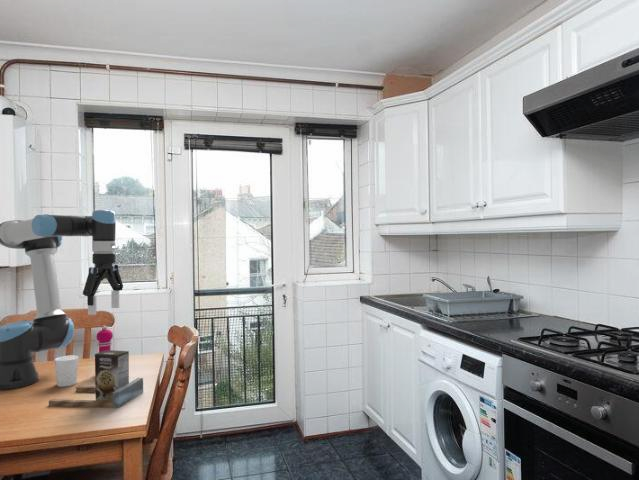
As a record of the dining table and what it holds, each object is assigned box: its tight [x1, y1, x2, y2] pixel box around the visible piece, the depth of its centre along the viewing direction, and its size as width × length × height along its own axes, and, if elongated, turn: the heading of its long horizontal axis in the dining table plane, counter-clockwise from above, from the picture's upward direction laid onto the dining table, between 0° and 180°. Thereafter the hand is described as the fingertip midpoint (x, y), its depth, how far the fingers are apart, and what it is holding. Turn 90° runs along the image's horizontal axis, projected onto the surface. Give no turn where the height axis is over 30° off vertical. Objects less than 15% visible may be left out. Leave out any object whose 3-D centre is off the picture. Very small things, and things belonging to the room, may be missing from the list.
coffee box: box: [94, 349, 130, 401], centre depth 153 cm, size 9×6×16 cm
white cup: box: [54, 354, 79, 388], centre depth 170 cm, size 8×8×10 cm
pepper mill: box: [96, 325, 114, 353], centre depth 181 cm, size 7×7×20 cm
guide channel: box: [48, 377, 144, 409], centre depth 153 cm, size 25×15×5 cm, turn 83°
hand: (104, 311), depth 161 cm, fingers open, 13 cm apart
